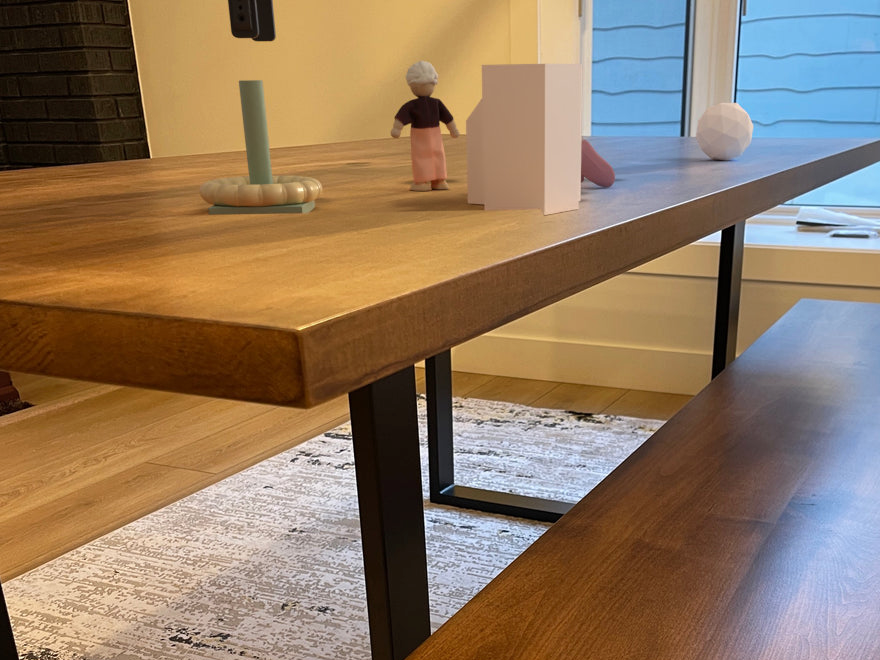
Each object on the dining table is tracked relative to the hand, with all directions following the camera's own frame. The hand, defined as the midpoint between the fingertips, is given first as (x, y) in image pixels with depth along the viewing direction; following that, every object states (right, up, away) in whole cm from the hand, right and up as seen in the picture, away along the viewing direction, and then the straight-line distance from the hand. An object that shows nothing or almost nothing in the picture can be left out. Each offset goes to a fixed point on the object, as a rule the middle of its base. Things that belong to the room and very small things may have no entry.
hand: (255, 39), depth 88 cm
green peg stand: (0, -15, +2) cm, 15 cm away
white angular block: (+24, -13, +6) cm, 28 cm away
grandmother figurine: (+13, -7, +20) cm, 25 cm away
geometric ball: (+53, +8, +54) cm, 75 cm away
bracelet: (0, -13, +2) cm, 13 cm away
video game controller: (+29, -6, +22) cm, 37 cm away
